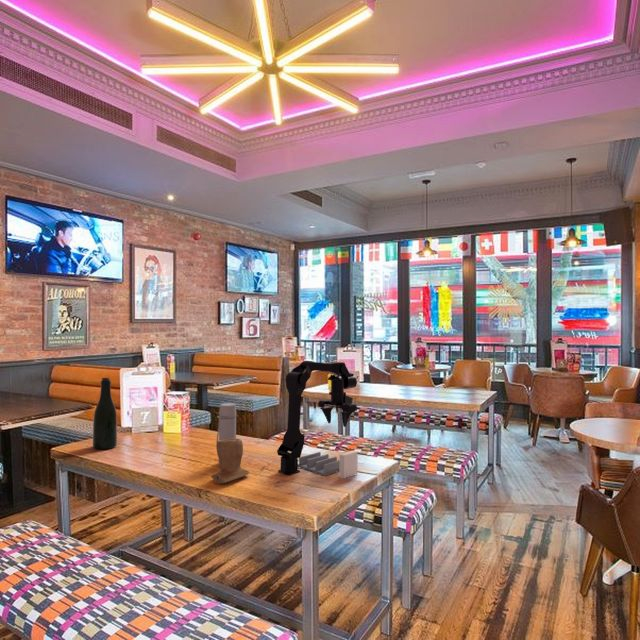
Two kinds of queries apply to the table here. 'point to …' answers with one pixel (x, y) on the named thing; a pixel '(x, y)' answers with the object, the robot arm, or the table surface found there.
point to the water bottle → (227, 422)
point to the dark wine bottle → (105, 419)
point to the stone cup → (229, 460)
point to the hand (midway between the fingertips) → (336, 425)
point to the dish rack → (319, 463)
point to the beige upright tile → (348, 464)
